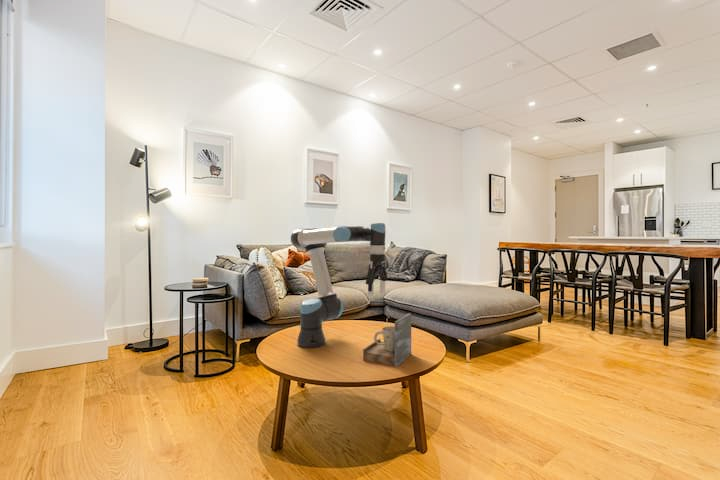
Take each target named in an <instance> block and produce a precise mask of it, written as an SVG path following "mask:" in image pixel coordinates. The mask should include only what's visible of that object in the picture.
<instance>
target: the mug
mask: <svg viewBox="0 0 720 480" xmlns="http://www.w3.org/2000/svg"><path fill="white" fill-rule="evenodd" d="M394 330H395V326H392V325H391V326H383V327H382V331H381V330H378V331H376V332H375V333H374V335H373V341H374V342H376V343H377V344H378V345H384V346H385V350H386V351H395V334H394ZM378 335H382V337H383V342H384V343H379V342H378V341H377V340H378V339H377V337H378Z"/></svg>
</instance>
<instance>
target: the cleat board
mask: <svg viewBox="0 0 720 480" xmlns="http://www.w3.org/2000/svg"><path fill="white" fill-rule="evenodd" d="M394 327H395V330H394V334H395V351H386V350H385V346H384V345H378V344H377V343H376V342H375V341H374V342H372V343H370V344H369V345H368V346H366V347H365V348H363V349H362V353H363V354H362V357H363V358H362V359H363V360H362V361H365V362H371V363H377V364H382V365H388V366H393V367H400V365H401V364H402V363H404V362H405V361H406V360H407V358H409V357H410V356H411V355H412V313H406V314H405V315H404V316H402V317H400V318H399V319H397V320H395V321H394ZM377 341H378V342H379V343H384V341H381V338H378V339H377Z"/></svg>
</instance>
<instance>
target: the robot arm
mask: <svg viewBox="0 0 720 480" xmlns="http://www.w3.org/2000/svg"><path fill="white" fill-rule="evenodd" d="M386 231H387V230H386V224H385V223H383V222H371V223H370V226H362V225H361V226H349V225H347V226H346V225H340V226H337V227H329V228H298V229H295V230H294V231H292V233H291V235H290V242H291V245H292V246H293V247H295V248H297V249H301V250H303V249H305V253H306V255H309V259H310V264H311V268H312V273H313V277H314V282H315V286H316V289H317V290H316V291H317V294H318V295H317V297H316V298H310V299H305V300H304V301H302V302H301V303H300V308H299V314H300V316H299V317H300V331H299V333H298V337H297V340H296V343H297V344H298V345H299V346H298V345H297V346H298V347H300V346H302V347H301V348H305V347H314V348H318V347H322V346H324V345H326V337H325V334H324V331H323V323H324V322H327V321H330V320H335V319H337V318H340V316H341V315H342V313H343V312H344V303H343V300H342V299H341V298H340V297H338V295H337V293H336V292H335V291H334V290H333V286H332V281H331V278H330V272H329V269H328V264H327V261H326V256H325V251H326V246H327V244H331V243H345V242H346V243H347V242H370V244H369V261H370V262H371V263H370V264H368V271H367V275H366V279H365V285H367V298H369V299H374V295H375V292H374V291H375V290H374V289H375V288H374V287H375V284H374V282H375V280H376V276H377V274H378V276H379V278H380V281H379V294H386V281H388V275H387V274H388V273H387V269H386V262H385V261H386V254H385V252H386Z"/></svg>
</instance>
